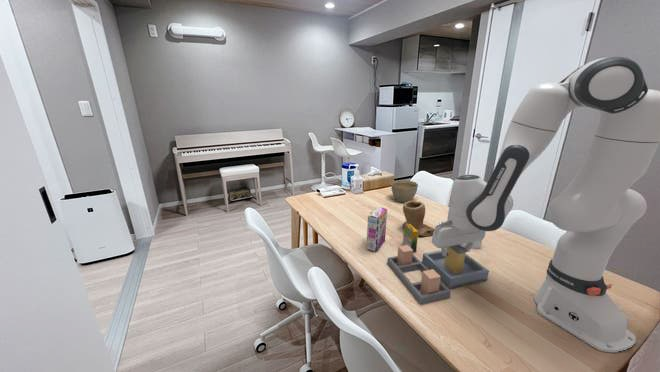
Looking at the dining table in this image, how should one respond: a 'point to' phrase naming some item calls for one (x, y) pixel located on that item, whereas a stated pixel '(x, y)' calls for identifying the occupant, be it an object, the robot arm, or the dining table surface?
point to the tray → (469, 275)
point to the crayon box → (410, 236)
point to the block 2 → (430, 282)
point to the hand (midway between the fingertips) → (455, 253)
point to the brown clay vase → (417, 217)
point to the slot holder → (416, 286)
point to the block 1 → (404, 255)
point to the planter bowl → (404, 190)
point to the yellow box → (455, 258)
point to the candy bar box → (376, 229)
